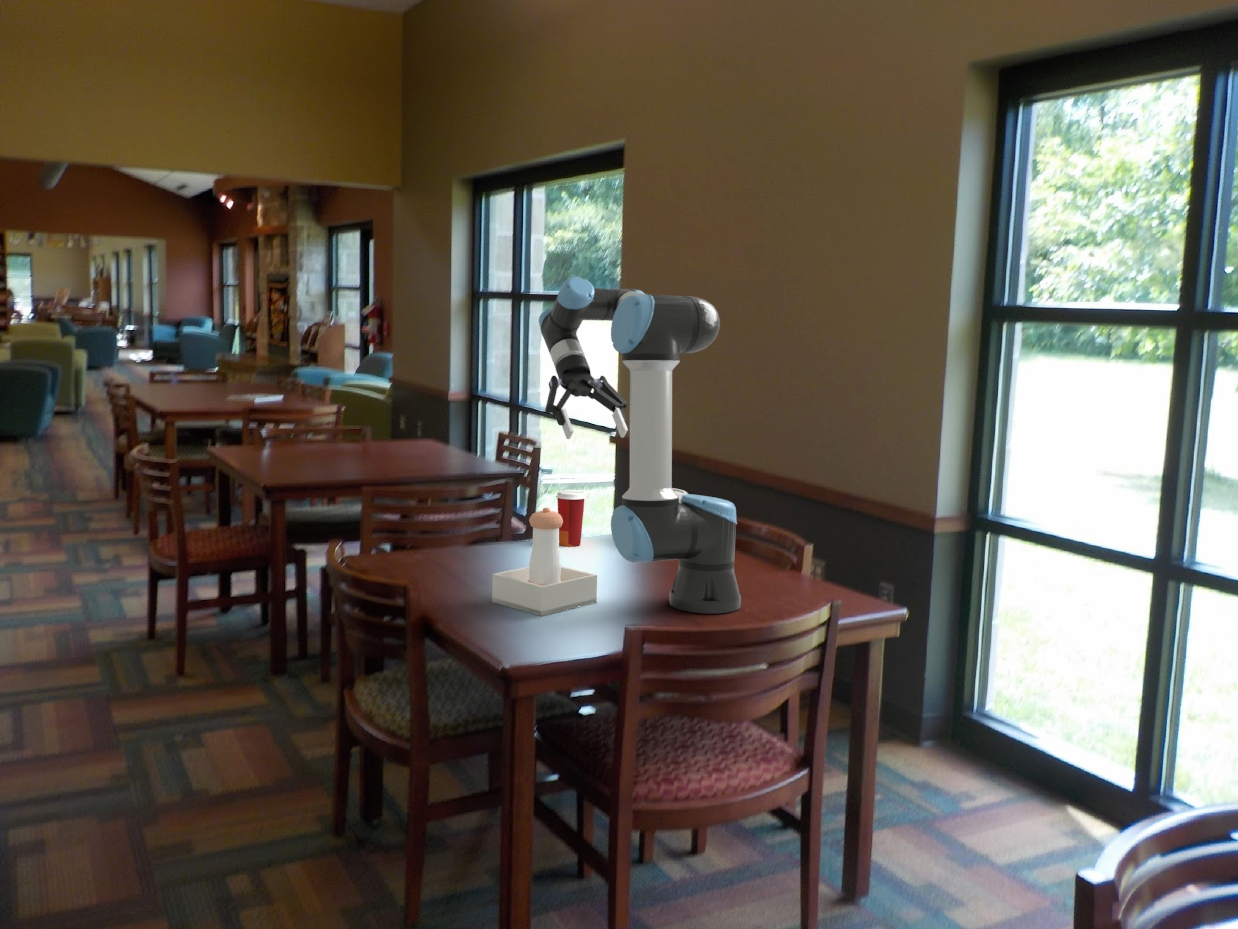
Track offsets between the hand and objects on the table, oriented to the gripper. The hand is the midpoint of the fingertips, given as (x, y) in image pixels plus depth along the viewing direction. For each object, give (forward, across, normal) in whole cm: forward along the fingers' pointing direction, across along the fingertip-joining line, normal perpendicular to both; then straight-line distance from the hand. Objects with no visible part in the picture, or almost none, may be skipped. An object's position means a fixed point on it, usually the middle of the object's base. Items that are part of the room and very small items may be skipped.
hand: (597, 434), depth 253 cm
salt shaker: (+32, +18, -14) cm, 40 cm away
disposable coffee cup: (+3, -37, -45) cm, 58 cm away
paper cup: (-3, -12, -51) cm, 53 cm away
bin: (+33, +18, -15) cm, 40 cm away
